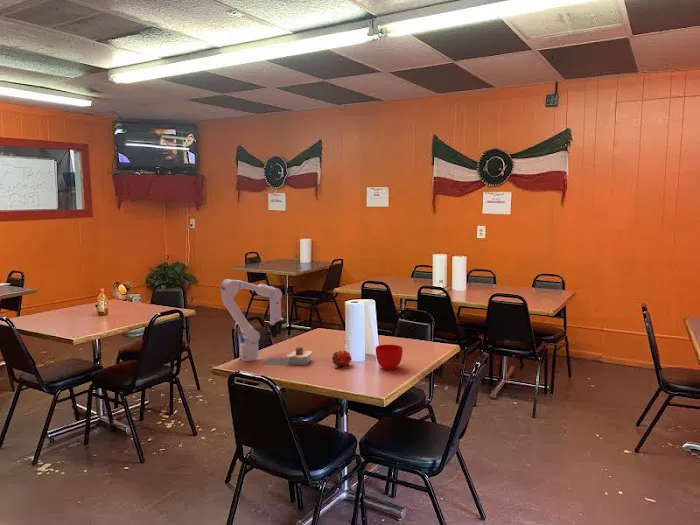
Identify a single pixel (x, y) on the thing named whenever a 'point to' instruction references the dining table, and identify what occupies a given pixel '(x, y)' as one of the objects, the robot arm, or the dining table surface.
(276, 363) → the mat
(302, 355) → the lid
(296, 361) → the dish
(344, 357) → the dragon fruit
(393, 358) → the ceramic cup
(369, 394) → the dining table surface
